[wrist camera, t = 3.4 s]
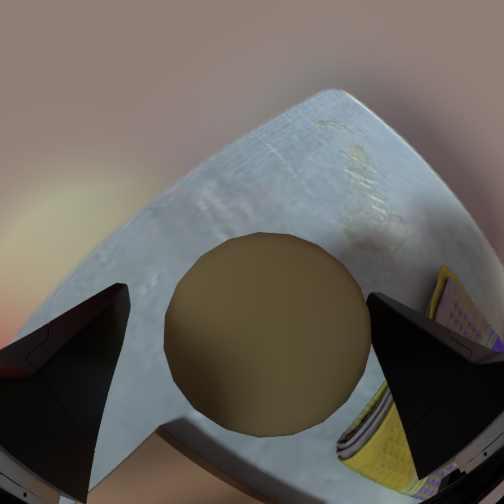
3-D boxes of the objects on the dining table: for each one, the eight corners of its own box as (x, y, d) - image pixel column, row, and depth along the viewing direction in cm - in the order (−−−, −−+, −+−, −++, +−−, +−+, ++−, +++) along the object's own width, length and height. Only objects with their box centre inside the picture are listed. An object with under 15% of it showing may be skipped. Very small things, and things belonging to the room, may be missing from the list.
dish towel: (452, 514, 11) (467, 519, 8) (314, 446, 14) (331, 459, 11) (519, 388, 17) (534, 386, 14) (431, 262, 20) (451, 251, 17)
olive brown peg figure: (215, 275, 16) (226, 152, 6) (303, 321, 16) (431, 270, 6) (165, 362, 14) (79, 383, 4) (259, 409, 14) (342, 497, 4)
